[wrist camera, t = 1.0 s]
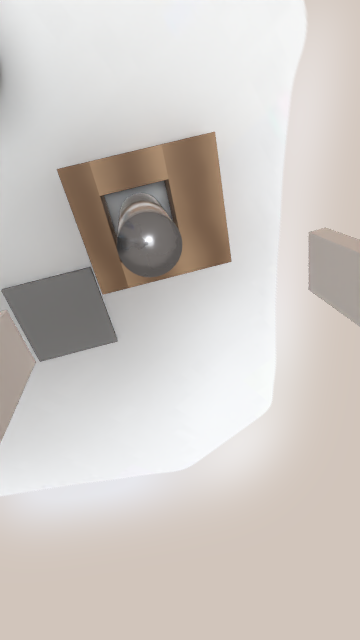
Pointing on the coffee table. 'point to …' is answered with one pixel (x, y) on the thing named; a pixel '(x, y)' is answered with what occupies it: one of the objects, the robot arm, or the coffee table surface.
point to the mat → (61, 314)
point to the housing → (184, 198)
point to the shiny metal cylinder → (147, 237)
